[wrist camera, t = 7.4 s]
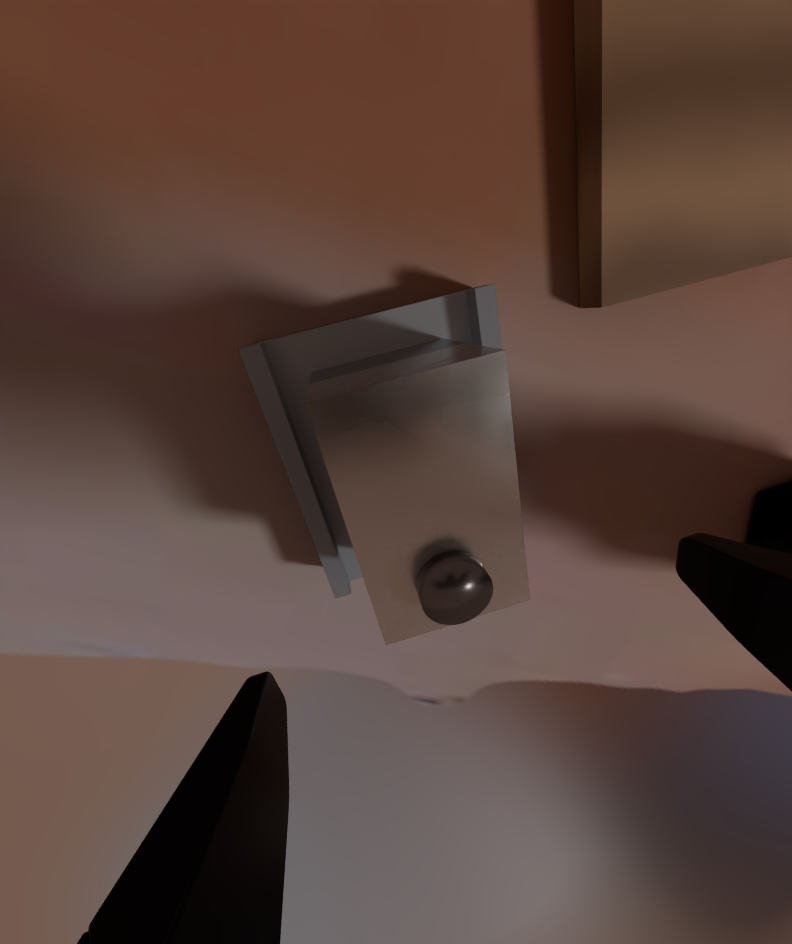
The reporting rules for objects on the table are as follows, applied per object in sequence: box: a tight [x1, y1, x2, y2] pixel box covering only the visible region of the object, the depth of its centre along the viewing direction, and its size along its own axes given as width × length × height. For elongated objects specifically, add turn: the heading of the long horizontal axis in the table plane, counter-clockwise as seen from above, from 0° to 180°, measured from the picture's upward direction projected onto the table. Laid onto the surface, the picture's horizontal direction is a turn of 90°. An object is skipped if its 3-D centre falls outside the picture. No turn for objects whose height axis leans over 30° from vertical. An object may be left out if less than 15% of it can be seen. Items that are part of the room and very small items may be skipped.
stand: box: [574, 0, 792, 308], centre depth 15 cm, size 12×10×2 cm
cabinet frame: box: [238, 284, 502, 598], centre depth 17 cm, size 12×10×2 cm
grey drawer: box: [305, 338, 530, 645], centre depth 14 cm, size 6×9×7 cm, turn 13°
